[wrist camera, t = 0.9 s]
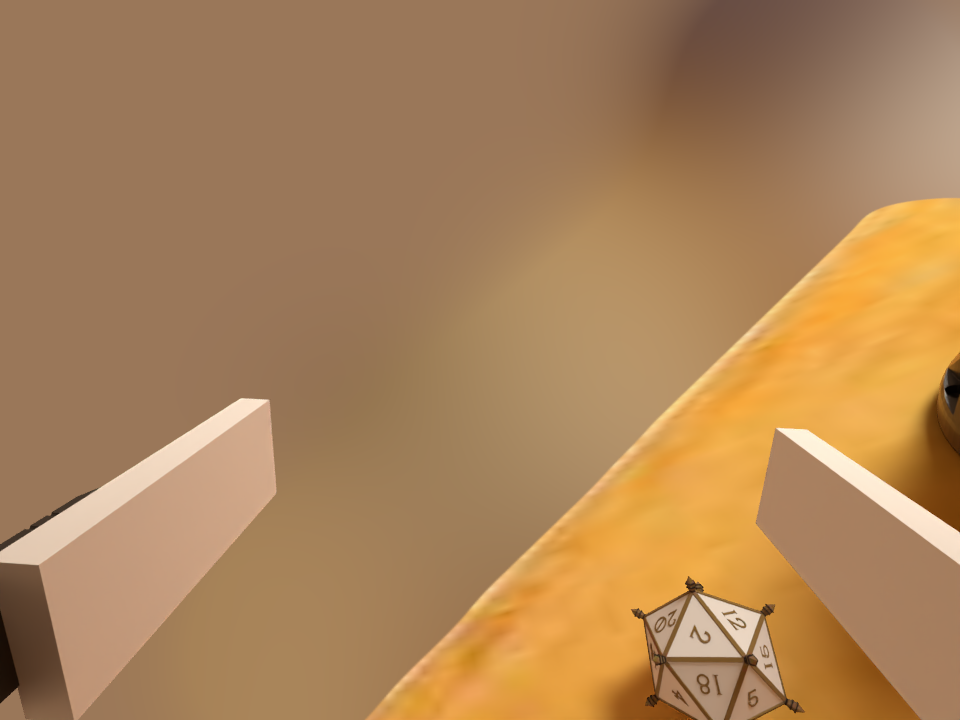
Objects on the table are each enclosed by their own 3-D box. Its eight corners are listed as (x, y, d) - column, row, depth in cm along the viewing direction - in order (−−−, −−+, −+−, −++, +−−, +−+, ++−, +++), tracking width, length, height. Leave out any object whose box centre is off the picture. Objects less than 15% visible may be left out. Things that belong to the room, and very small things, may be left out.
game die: (714, 723, 33) (605, 742, 29) (686, 585, 37) (587, 582, 33) (858, 745, 27) (748, 775, 22) (806, 574, 31) (703, 569, 26)
